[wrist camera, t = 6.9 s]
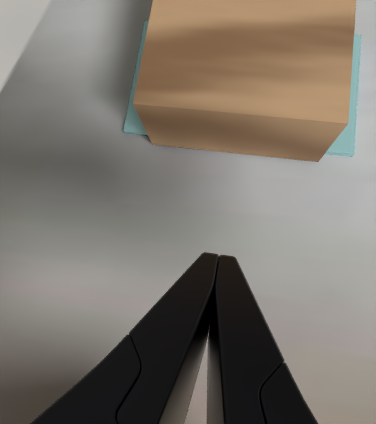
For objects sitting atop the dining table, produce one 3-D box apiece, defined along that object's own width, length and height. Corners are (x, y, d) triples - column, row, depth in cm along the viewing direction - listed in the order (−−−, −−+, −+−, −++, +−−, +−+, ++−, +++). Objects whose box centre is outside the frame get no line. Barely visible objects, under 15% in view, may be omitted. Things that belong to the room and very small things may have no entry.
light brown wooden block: (348, 123, 16) (359, -60, 18) (132, 103, 17) (165, -67, 19) (318, 161, 21) (329, 14, 23) (152, 144, 22) (176, 5, 24)
